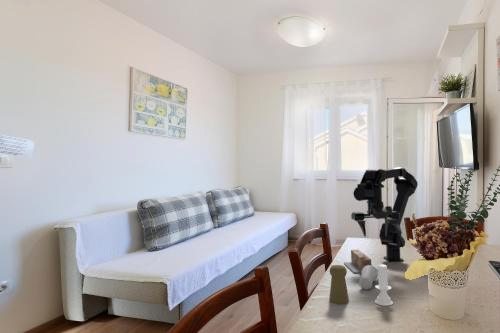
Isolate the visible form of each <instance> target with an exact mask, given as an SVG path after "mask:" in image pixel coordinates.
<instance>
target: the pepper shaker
mask: <svg viewBox="0 0 500 333" xmlns="http://www.w3.org/2000/svg"><path fill="white" fill-rule="evenodd" d="M329 275H330V276H331V280H330V291H329V299H328V300H330V301H331V302H332V304H334V303H336V304H335V305H346V304H349V302H350V298H349V293H348V287H347V281H346V276H347V268H346V267H345V266H344V265H342V264H333V265H331V266H330V268H329ZM330 301H329V302H330ZM331 302H330V303H331Z"/></svg>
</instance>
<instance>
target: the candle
mask: <svg viewBox="0 0 500 333" xmlns="http://www.w3.org/2000/svg"><path fill="white" fill-rule="evenodd" d="M377 270H378V284H377V285H375V286H374V287H375V288H376V289H377V290H379V291H380V292H379V294H378V295H377V296H376V299H375V300H374V303H375V304H376V305H380V306H384V307H385V306H386V307H387V306H388V307H389V306H393V304H394V302H393V300H391V296H389V295H388V291H390V290H392V287H391V286H390V285H388V281H389V280H388V267H387V265H386V264H383V263H381V264H378V266H377Z"/></svg>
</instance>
